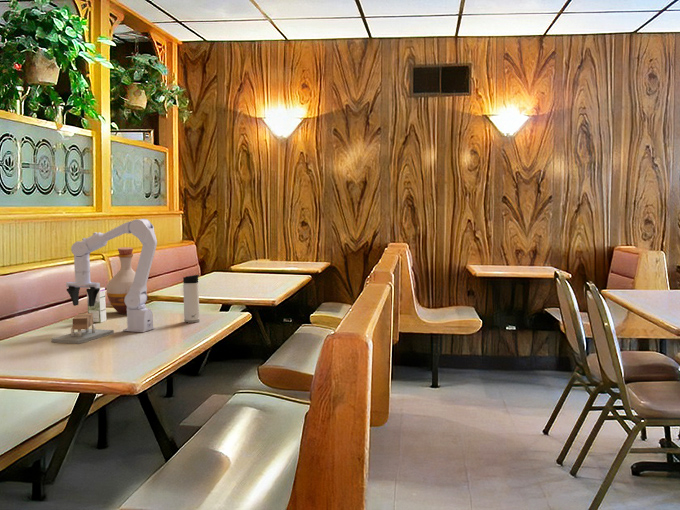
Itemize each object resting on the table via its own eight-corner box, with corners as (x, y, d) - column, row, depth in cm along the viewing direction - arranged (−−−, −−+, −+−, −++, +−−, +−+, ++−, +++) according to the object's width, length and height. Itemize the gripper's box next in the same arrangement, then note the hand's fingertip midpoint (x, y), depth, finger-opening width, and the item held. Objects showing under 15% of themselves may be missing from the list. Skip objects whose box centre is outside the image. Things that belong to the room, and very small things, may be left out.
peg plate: (113, 333, 260) (113, 322, 259) (78, 343, 241) (78, 332, 240) (87, 331, 263) (87, 321, 263) (51, 342, 244) (50, 330, 244)
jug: (105, 310, 314) (102, 247, 312) (144, 307, 322) (142, 245, 319) (109, 317, 296) (106, 249, 294) (150, 314, 304) (148, 248, 301)
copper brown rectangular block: (87, 329, 246) (86, 318, 246) (72, 329, 245) (72, 318, 245) (92, 323, 258) (92, 313, 258) (79, 323, 257) (78, 313, 257)
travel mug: (196, 323, 279) (195, 275, 278) (181, 322, 280) (180, 275, 279) (202, 320, 285) (201, 274, 284) (188, 320, 287) (186, 273, 285)
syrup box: (106, 320, 288) (105, 287, 287) (100, 322, 282) (99, 288, 281) (94, 320, 289) (92, 287, 288) (87, 322, 283) (86, 288, 282)
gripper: (104, 271, 266) (105, 304, 267) (74, 270, 270) (75, 303, 271) (92, 272, 259) (94, 307, 260) (61, 272, 264) (63, 306, 265)
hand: (83, 305), depth 265 cm, fingers open, 7 cm apart
